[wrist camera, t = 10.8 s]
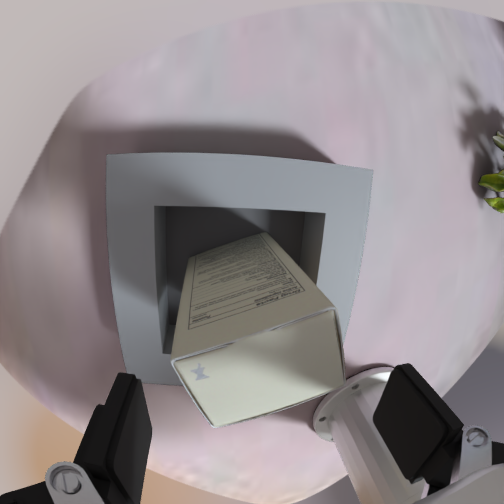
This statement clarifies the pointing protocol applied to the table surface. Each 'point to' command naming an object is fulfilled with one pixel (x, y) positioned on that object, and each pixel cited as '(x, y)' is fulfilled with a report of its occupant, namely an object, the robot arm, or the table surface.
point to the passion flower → (495, 179)
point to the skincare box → (254, 333)
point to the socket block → (222, 233)
